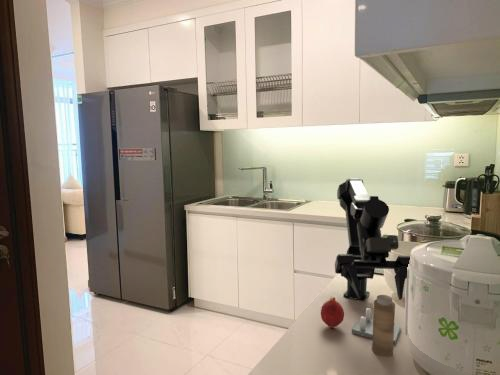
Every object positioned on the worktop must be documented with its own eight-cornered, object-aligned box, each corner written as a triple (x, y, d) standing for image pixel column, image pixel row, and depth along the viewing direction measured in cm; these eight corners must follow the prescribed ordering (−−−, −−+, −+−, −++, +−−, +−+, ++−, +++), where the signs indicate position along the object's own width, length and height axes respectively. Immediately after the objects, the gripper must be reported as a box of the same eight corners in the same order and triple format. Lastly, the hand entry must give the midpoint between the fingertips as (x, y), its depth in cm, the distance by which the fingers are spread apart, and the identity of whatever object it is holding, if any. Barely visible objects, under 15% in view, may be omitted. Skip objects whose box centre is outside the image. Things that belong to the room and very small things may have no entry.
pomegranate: (342, 335, 87) (343, 304, 86) (318, 331, 89) (319, 300, 88) (345, 324, 92) (346, 294, 91) (322, 320, 94) (323, 291, 93)
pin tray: (360, 319, 95) (360, 305, 94) (400, 329, 90) (401, 314, 89) (351, 332, 88) (352, 317, 87) (394, 344, 83) (395, 328, 82)
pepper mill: (374, 343, 83) (376, 292, 82) (394, 348, 81) (397, 296, 80) (369, 352, 80) (372, 299, 78) (390, 358, 77) (393, 303, 76)
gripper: (337, 221, 87) (343, 282, 77) (417, 223, 85) (433, 285, 76) (332, 244, 96) (337, 301, 86) (404, 246, 94) (418, 305, 84)
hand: (380, 298), depth 83 cm, fingers open, 9 cm apart
